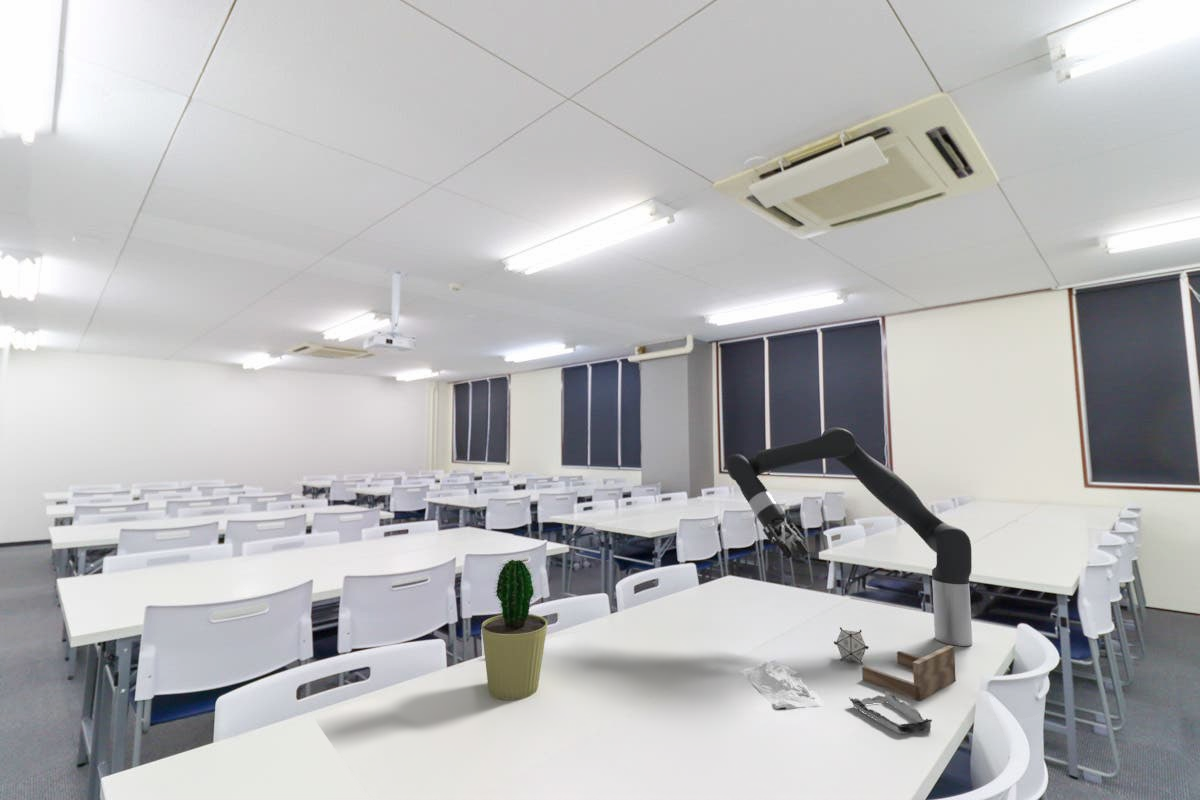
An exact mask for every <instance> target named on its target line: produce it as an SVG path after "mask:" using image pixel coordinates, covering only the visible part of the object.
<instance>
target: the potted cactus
mask: <svg viewBox="0 0 1200 800" xmlns="http://www.w3.org/2000/svg"><path fill="white" fill-rule="evenodd" d="M501 567H502V569H501V568H499V570H497V573H498V572H499V574H497V578H498V579H496V580H495V581H494V582H495V583H496V588H494V592H493V593H495V595H493V596H494V598H496V597H497V599H498V600H497V601H498V603H500V606H498V607H499V608H500V610H499V611H498V613H499V614H500V615H496V616H493V617H490V618H488V619H486V620H484V621H483V622H482V624H481V625H480V626H481V636H482V643H483V645H482V646H483V650H484V651H483V652H484V653H483V654H484V661H485V669H486V678H487V687H488V692H489V694H490V695H491V696H492V697H494V698H495V699H499V700H504V701H515V700H521V699H526V698H528V697H531V696H532V695H534V694H535V693H536V692H537V690H538V688H539V683H540V676H541V669H542V662H543V655H544V650H545V643H546V636H547V635H546V634H547V631H548V630H547V629H548V624H549V623H548V622H549V621H548V620H547V618H545V617H544V616H540V615H536V614H532V613H530V608H531V609H532V606H531V602H533V600H532V598H536V596H534V595H536V593H535V589H536V587H534V586H533V580H532V578H533V572H531V571H530V568H533V567H532V566H531V567H529V566H528V565H527V563H526V561H525V559H524V560H523V559H522V560H520V559H517V560H514V559H512V558H510V560H508V561H507V562H505V563H504V565H501Z"/></svg>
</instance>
